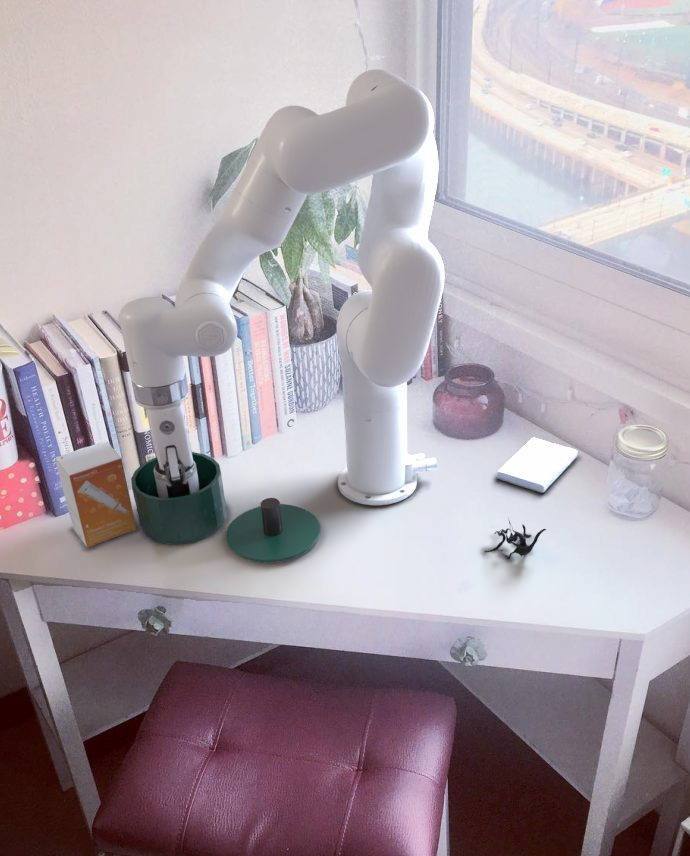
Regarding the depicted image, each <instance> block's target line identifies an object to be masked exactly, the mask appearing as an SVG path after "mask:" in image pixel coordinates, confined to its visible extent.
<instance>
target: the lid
mask: <svg viewBox="0 0 690 856" xmlns="http://www.w3.org/2000/svg"><path fill="white" fill-rule="evenodd" d="M320 524H321V523H320V521H319V519H318V518H317V517H316V516H315V515H314V513H312V512H311V511H310V510H307V509H306V508H303V507H301V506H297V505H293V504H285V503H281V501H280V500H279V499H278V498H276V497H266V498H264V499H263V500H261V502H260V506H256V507H253V508H250V509H248V510H246V511H244V512H242V513H240V514H239V515H238V516H236V517H235V518H234V519H233V520H232V521H231V522H230V524H229V525H228V527H227V529H226V531H225V538H226V539H225V541H226V543H227V546H228V548H229V550H231V551H232V552H233V553H234V554H235V555H236V556H238V557H240V558H242V559H244V560H247V561H251V562H256V563H265V564H266V563H268V564H269V563H279V562H285V561H290V560H293V559H295V558H297V557H300V556H302V555H304V554H305V553H307V552H308V551H310V550H311V549H312V548H313V547H314V546H315V545H316V544H317V542H318V541H319V539H320V536H321V525H320Z"/></svg>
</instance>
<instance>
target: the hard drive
mask: <svg viewBox="0 0 690 856" xmlns="http://www.w3.org/2000/svg"><path fill="white" fill-rule="evenodd" d="M577 458H578V450H576V449H574V448H571V447H568V446H564V445H560V444H556V443H553V442H550V441H547V440H544V439H539V438H537V437H531V438H530V440H528V441H527V443H525V444H524V445H523V446H522V447H521V448H520V449H519V450H518V451H517V452H516V453H515V454H514V455H512V457H511V458H510V459H509V460H508V461H506V462H505V464H504V465H502V467H500V468H499V469H498V470H497V472H496V479H498V480H499V481H502V482H505V483H509V484H512V485H515V486H518V487H522V488H525V489H528V490H531V491H535V492H538V493H541V494H544V493H545V492H546V491H547V490H548V489H549V487H550V486H552V484H553V483H554V482H555V481H556V480H557V479H558V478H559V477H560V475H562V474H563V472H565V470H566V469H567V468H569V466H570V465H571V464H572V463H573V462H574V461H575V460H576V459H577Z"/></svg>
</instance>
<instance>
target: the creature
mask: <svg viewBox="0 0 690 856" xmlns="http://www.w3.org/2000/svg"><path fill="white" fill-rule="evenodd" d="M507 519H508V523H509V525H510V527H509V528H508V527H507V528H506V529H503V528H502V529H500V530H496V531H495V532H494V533H493V535H495V534H497V535H498V537H502V540H501V541H500V542H499V543H498V544H497V545H496V547H493V548H492V549H489V550H487V549H485V550H484V553H491V552H496V551H499V552H503V551H504V549H500V548H501V547H502V546H503V544H504V543H505V542H506V543H507V544H509V545H514V546H515V548H514V550H513V551H512V552H510V553H509V555H506V554H504V553H501V555H502V556H505V557H506V558H507V560H510V559H511V557H512V555H514V554H517V555H519V556H520V557H523V556H526V555H528V554H530V553H531V551H533V549H534V547H535V545H536V543H537V542H538V539H539V538H540V535H541V534H542V533H543V532H545V531H547V529H546V528H543V529H541V530H540V531H538V532H537V533H536V535H535V536H534V539H533V541H532V542H531V543H530V544H529V545H528V544H527V539H530V538H531V537H532V534H527V530H526V526H525V524H521V525H522V530H523V533H521V532H519V531H516V530H514V528H513V525H512V523H511V521H510V519H509V518H507ZM508 531H510V535H509V537H508ZM513 533H514V534H513ZM518 538H519V540H518ZM517 540H518V542H517ZM516 542H517V543H516Z"/></svg>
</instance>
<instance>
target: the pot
mask: <svg viewBox="0 0 690 856" xmlns="http://www.w3.org/2000/svg"><path fill="white" fill-rule="evenodd" d="M192 457H193V461H194V462H195V464H196V469H197V475H198V482H199V489H200V491H198V492H195V493H192V494H189V495H186V496H181V497H175V498H159V497H158V492H157V487H156V481H155V476H154V467H155V465H156V464H157V462H158V459H157V456H156V457H153V458H151V459H150V460H147V461H145V462H144V463H142V464H141V465H140V466H139V467H138V468H137V469H135V470H134V472H133V475H132V476H131V478H130V480H131V481H130V482H131V489H132V494H133V498H134V503H135V508H136V512H137V517H138V522H139V526H140V529H141V531H142V533H143V534H144V535H145V536H146V537H147V538H149V539H150V540H152V541H154V542H157V543H161V544H167V545H184V544H190V543H195V542H198V541H201V540H204V539H206V538H208V537H210V536H211V535H213V534H215V533H216V532H218V530H220V529H221V528H222V527H223V525H224V524H225V522H226V519H227V516H228V511H227V506H226V505H227V504H226V497H225V490H224V484H223V483H224V482H223V477H222V471H221V466H220V464H219V463H218V461H216V460H215V458H214V457H211V456H209V455H207V454H205V453H200V452H195V451H192Z"/></svg>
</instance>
